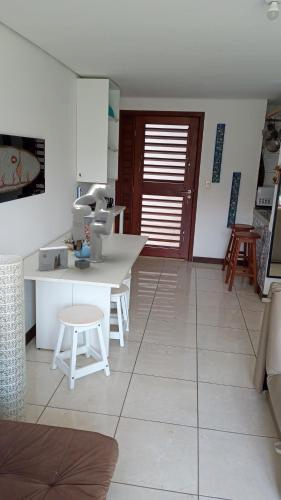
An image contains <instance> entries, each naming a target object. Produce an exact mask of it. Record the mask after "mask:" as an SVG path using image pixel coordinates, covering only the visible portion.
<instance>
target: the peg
mask: <svg viewBox="0 0 281 500" xmlns="http://www.w3.org/2000/svg"><path fill="white" fill-rule="evenodd" d="M76 245H77V250H75V251H81V241H80V240H78V241H77V242H76Z"/></svg>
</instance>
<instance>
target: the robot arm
mask: <svg viewBox="0 0 281 500" xmlns="http://www.w3.org/2000/svg"><path fill="white" fill-rule="evenodd" d="M115 196H116V190H115V188H114V187H113V186H111V185H108V184H103V183H94V184H92V185H91V186H90V188H89V190H88V191H87V192H86V194H83V195H82V196H79V197H78V198H77V199H75V201H74V202H73V204H72V205H71V209H70V210H71V213H72V226H71V227H70V234H69V235H70V239H69V240H68V241H69V243H71V245H72V244H73V245H72V249H73V250H77V245H76V242H77V241H78V240H80V241H81V249H82V247H83V244H84V242H85V240H87V237H86V230H85V223H86V222H84V221H85V220H84V219H85V217H88V216H90V215H91V214H92V208H91V206H90V205H92V204H95V208H94V212H93V218H94V220H95V221H91V222H90V224H89V228H88V229H89V234H90V235H89V236H90V237H89V240H90V241H89V249H90V256H89V257H88V258H87V261H90V263H94V264H95V263H96V264H97V263H103V262H104V258H106V257H107V255H106V254H103V238H102V235H103V236H109V235H111V234H112V229H113V224H114V219H115V212H114V211H113V210H112V209H108V208H107V206H108V202H107V200H106V199H105V198H109V199H110V198H111V199H112V198H114V197H115ZM95 202H96V203H95ZM102 261H103V262H102Z"/></svg>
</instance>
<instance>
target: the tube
mask: <svg viewBox="0 0 281 500" xmlns="http://www.w3.org/2000/svg"><path fill="white" fill-rule="evenodd" d="M72 267H73V269H74V270H76V271H79V272H82V271H88V270H92V269H93V267H91V262H90V261H88V259H86V258H80V259H75V260H74V266H72Z"/></svg>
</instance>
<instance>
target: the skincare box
mask: <svg viewBox="0 0 281 500" xmlns="http://www.w3.org/2000/svg"><path fill="white" fill-rule="evenodd" d="M68 264H69V247H68V246H67V245H64V246H63V245H61V246H53V247H50V246H49V247H40V248H38V267H37V269H38V270H39V271H40V272H45V271H53V270H61V268H62V269H68V268H69V266H68ZM67 267H68V268H67Z"/></svg>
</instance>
